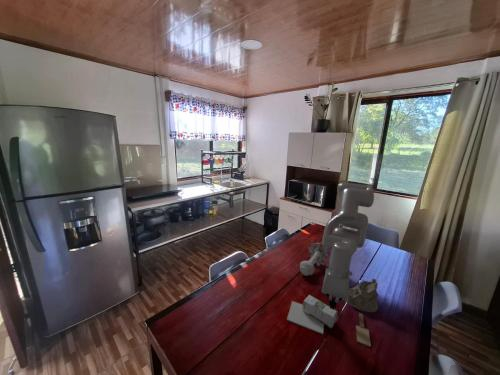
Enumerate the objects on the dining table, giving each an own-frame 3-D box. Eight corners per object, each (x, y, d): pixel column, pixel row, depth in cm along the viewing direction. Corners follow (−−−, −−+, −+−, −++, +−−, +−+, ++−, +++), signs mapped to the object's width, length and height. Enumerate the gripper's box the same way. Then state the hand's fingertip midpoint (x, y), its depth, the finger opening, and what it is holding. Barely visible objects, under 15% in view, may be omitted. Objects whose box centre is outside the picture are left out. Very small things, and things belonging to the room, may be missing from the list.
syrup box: (335, 321, 94) (306, 304, 103) (338, 310, 93) (308, 294, 102) (331, 329, 90) (301, 310, 99) (333, 318, 89) (303, 300, 98)
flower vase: (310, 287, 126) (327, 262, 142) (316, 268, 116) (333, 243, 132) (292, 274, 133) (310, 252, 149) (296, 255, 123) (315, 234, 139)
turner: (354, 313, 100) (355, 311, 100) (366, 317, 98) (366, 315, 98) (357, 342, 86) (357, 339, 85) (370, 347, 84) (371, 345, 84)
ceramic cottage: (377, 295, 112) (380, 272, 109) (378, 318, 99) (382, 292, 95) (346, 286, 120) (348, 264, 116) (343, 306, 106) (346, 281, 102)
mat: (292, 302, 105) (292, 301, 105) (324, 313, 99) (325, 312, 99) (286, 320, 94) (286, 319, 94) (322, 334, 88) (323, 333, 88)
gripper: (357, 271, 87) (350, 307, 91) (320, 261, 92) (315, 295, 97) (358, 282, 80) (350, 320, 84) (319, 270, 85) (313, 307, 90)
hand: (331, 306), depth 90 cm, fingers closed
